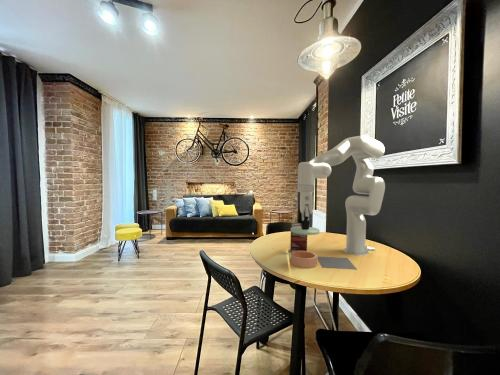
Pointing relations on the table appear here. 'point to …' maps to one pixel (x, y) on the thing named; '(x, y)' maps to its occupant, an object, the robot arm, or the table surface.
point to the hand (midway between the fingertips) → (304, 228)
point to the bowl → (304, 259)
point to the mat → (336, 263)
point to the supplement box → (298, 241)
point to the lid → (305, 230)
